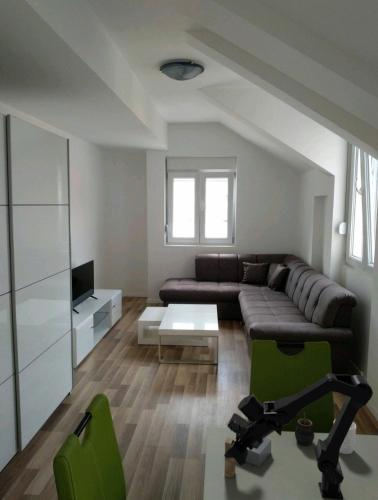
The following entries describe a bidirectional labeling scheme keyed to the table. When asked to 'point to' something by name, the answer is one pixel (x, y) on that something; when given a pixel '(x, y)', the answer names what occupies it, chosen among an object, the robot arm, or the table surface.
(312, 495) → the table surface
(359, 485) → the table surface
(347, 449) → the white cup
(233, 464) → the tall wooden pillar block
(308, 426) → the mate gourd
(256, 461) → the grey square socket holder
